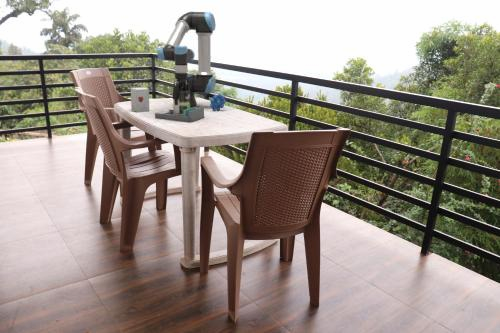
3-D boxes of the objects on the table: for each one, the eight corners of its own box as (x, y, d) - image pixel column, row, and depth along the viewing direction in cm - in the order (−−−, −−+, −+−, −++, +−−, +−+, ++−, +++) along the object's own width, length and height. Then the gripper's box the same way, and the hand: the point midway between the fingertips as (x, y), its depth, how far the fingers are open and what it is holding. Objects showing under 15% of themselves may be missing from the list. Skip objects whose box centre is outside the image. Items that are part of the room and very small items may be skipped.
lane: (155, 118, 252) (154, 107, 250) (170, 114, 267) (169, 103, 265) (190, 122, 244) (190, 111, 242) (204, 117, 259) (204, 107, 257)
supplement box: (137, 112, 269) (136, 89, 265) (131, 110, 276) (130, 87, 271) (150, 111, 275) (149, 88, 270) (143, 109, 281) (142, 87, 277)
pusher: (183, 119, 247) (183, 110, 245) (194, 116, 259) (194, 107, 257) (185, 119, 246) (185, 110, 245) (196, 116, 258) (196, 107, 257)
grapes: (223, 109, 291) (223, 92, 288) (226, 111, 285) (227, 93, 282) (207, 110, 287) (207, 92, 283) (210, 111, 281) (211, 94, 277)
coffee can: (192, 112, 258) (192, 90, 254) (186, 115, 248) (186, 92, 244) (176, 111, 260) (176, 89, 256) (170, 114, 250) (170, 91, 246)
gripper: (185, 70, 258) (185, 106, 265) (165, 73, 238) (166, 111, 244) (195, 71, 255) (196, 107, 262) (176, 74, 235) (177, 112, 242)
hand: (181, 109), depth 253 cm, fingers closed on coffee can, 10 cm apart
